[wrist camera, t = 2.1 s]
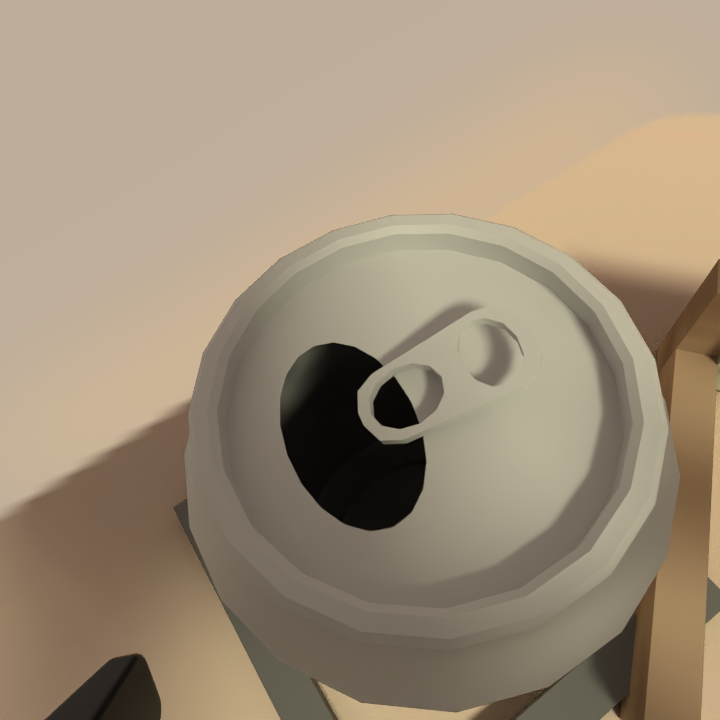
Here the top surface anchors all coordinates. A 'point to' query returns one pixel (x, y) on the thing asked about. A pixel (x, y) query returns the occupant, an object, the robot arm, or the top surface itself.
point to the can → (430, 462)
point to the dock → (682, 523)
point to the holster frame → (542, 716)
